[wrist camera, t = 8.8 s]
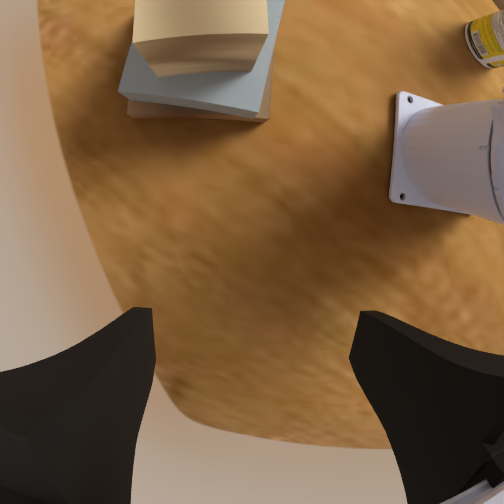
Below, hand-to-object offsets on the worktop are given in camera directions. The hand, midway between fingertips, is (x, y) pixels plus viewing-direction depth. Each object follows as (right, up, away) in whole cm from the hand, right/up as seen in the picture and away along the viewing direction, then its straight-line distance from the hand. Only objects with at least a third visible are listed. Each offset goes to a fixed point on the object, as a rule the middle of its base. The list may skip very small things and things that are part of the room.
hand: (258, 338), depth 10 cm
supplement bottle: (+20, +21, +7) cm, 30 cm away
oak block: (-3, +13, +2) cm, 14 cm away
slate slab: (-3, +14, +4) cm, 15 cm away
